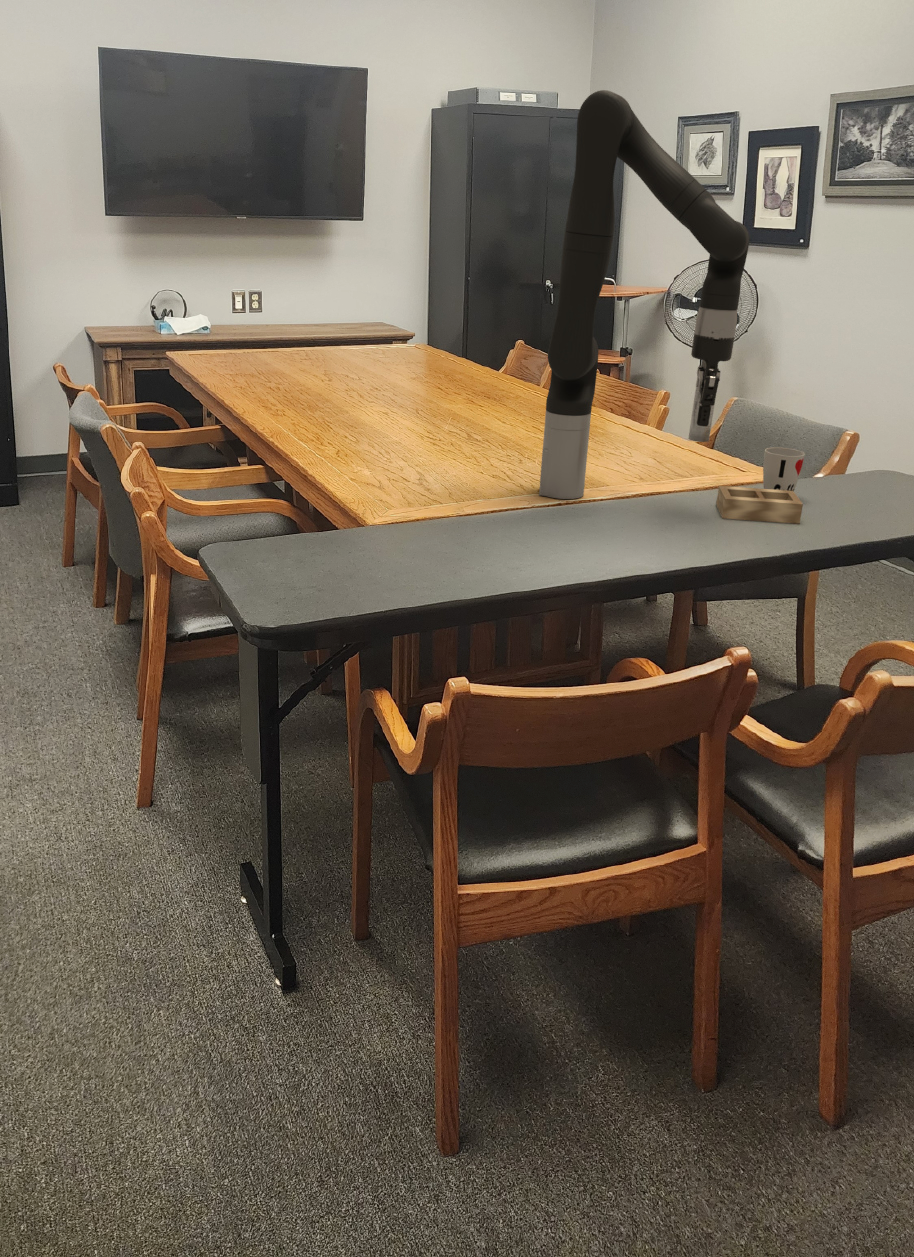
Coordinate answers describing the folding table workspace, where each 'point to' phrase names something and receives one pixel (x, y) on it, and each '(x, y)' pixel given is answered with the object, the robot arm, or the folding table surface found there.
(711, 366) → the robot arm
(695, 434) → the grey rounded cylinder
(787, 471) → the cup
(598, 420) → the folding table surface
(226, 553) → the folding table surface
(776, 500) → the frame
